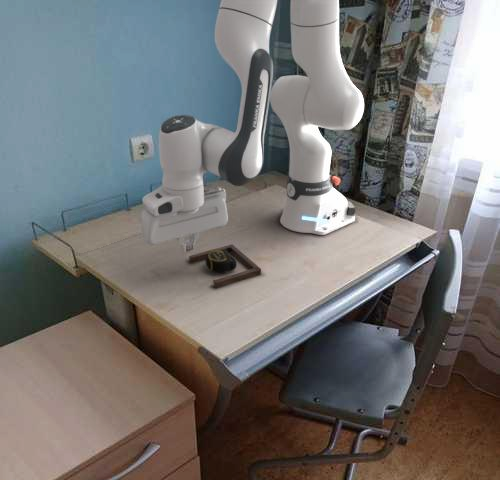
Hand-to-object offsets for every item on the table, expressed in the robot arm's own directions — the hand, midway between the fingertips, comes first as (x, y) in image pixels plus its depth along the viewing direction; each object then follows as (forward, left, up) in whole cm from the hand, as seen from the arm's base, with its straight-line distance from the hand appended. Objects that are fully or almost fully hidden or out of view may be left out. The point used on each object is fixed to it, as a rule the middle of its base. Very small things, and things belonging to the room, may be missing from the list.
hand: (188, 249), depth 121 cm
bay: (-9, 0, -8) cm, 12 cm away
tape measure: (-9, 0, -8) cm, 12 cm away
